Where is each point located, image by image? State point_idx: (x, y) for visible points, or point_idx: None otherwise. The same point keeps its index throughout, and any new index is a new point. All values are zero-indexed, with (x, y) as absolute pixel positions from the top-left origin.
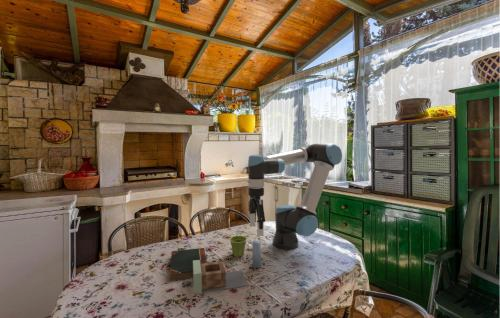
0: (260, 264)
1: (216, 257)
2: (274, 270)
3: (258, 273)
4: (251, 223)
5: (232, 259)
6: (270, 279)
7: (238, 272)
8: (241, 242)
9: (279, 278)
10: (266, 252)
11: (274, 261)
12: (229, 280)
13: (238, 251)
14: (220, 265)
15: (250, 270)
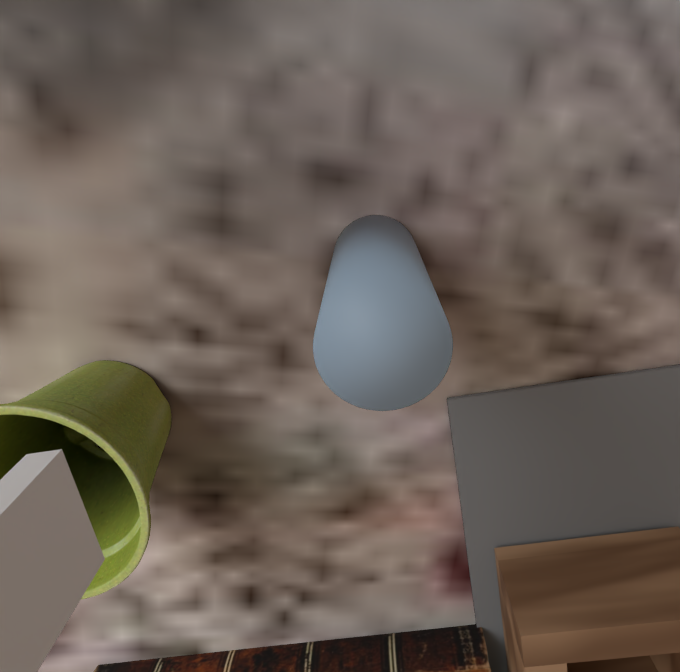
0: (396, 223)
1: (183, 582)
2: (493, 75)
3: (522, 255)
4: (57, 590)
5: (223, 464)
6: (660, 152)
7: (482, 429)
8: (139, 477)
9: (667, 49)
10: (46, 100)
11: (285, 35)
12: (596, 498)
13: (159, 442)
14: (606, 649)
15: (452, 324)
